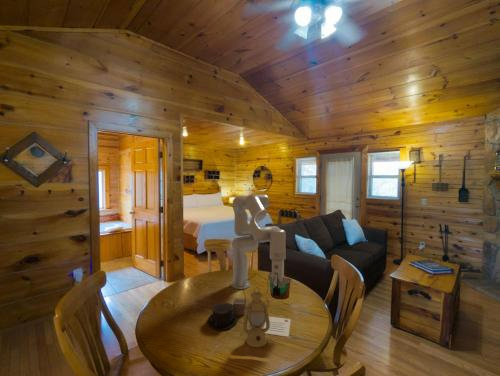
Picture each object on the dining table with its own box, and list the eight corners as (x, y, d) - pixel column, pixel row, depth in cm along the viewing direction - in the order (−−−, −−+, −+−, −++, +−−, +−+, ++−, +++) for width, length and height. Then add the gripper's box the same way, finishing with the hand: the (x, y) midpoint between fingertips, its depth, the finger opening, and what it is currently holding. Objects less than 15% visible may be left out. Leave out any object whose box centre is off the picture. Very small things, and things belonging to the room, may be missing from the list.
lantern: (244, 349, 102) (244, 278, 101) (241, 335, 112) (241, 270, 111) (272, 347, 104) (272, 277, 103) (267, 332, 113) (267, 268, 112)
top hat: (203, 329, 116) (203, 307, 116) (212, 312, 131) (212, 293, 131) (234, 331, 114) (234, 310, 114) (240, 314, 129) (240, 294, 129)
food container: (262, 295, 119) (262, 275, 119) (269, 291, 124) (269, 271, 124) (284, 303, 111) (284, 281, 111) (291, 298, 116) (291, 277, 116)
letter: (267, 316, 127) (267, 316, 127) (290, 319, 124) (290, 319, 124) (262, 333, 113) (262, 332, 113) (288, 337, 110) (288, 336, 110)
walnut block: (235, 308, 135) (235, 298, 134) (246, 309, 134) (246, 298, 134) (233, 314, 129) (233, 303, 128) (244, 315, 128) (244, 304, 128)
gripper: (283, 261, 109) (283, 301, 109) (287, 250, 125) (286, 285, 126) (266, 260, 110) (266, 299, 111) (272, 249, 127) (272, 283, 128)
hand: (277, 291), depth 118 cm, fingers closed on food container, 6 cm apart
